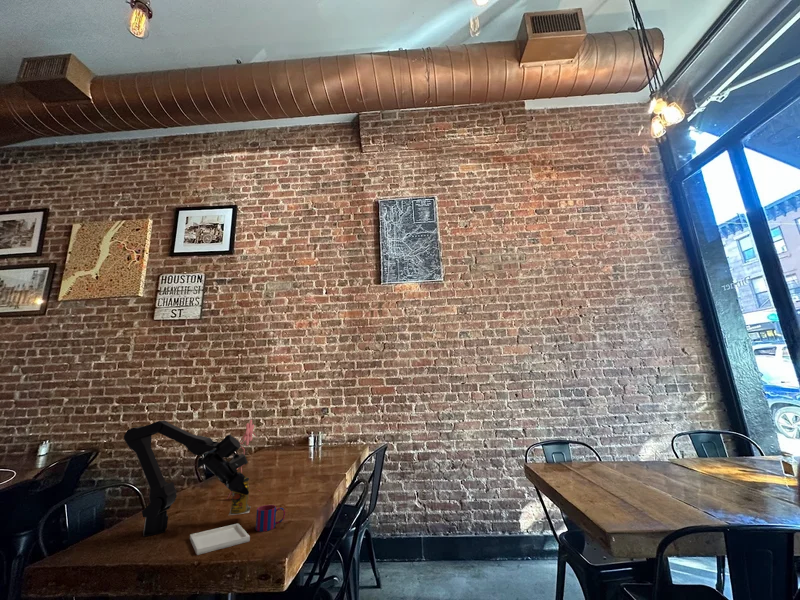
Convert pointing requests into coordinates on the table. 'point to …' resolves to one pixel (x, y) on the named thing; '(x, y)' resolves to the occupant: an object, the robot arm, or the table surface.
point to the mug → (267, 518)
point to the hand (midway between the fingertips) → (245, 491)
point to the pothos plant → (247, 440)
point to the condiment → (240, 501)
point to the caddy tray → (218, 538)
